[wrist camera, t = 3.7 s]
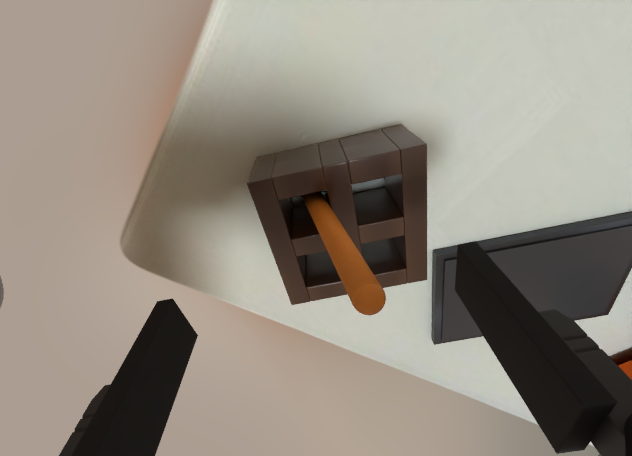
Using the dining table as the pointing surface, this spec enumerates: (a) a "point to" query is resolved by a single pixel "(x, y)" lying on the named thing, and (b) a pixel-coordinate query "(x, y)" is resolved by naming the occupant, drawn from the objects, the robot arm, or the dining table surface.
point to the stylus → (346, 257)
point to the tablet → (543, 272)
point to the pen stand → (346, 209)
